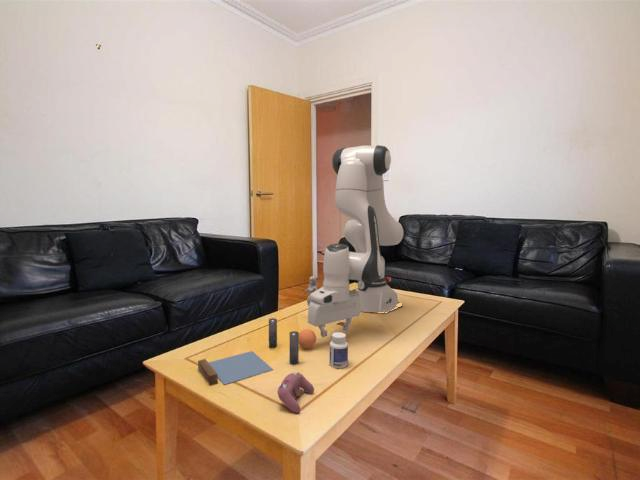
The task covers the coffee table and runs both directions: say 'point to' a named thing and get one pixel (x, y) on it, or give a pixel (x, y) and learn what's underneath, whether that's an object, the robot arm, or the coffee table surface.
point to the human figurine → (311, 289)
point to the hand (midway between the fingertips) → (335, 333)
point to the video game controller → (293, 390)
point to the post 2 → (294, 347)
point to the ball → (307, 338)
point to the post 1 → (272, 333)
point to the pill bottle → (338, 350)
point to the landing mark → (239, 367)
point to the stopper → (207, 372)
